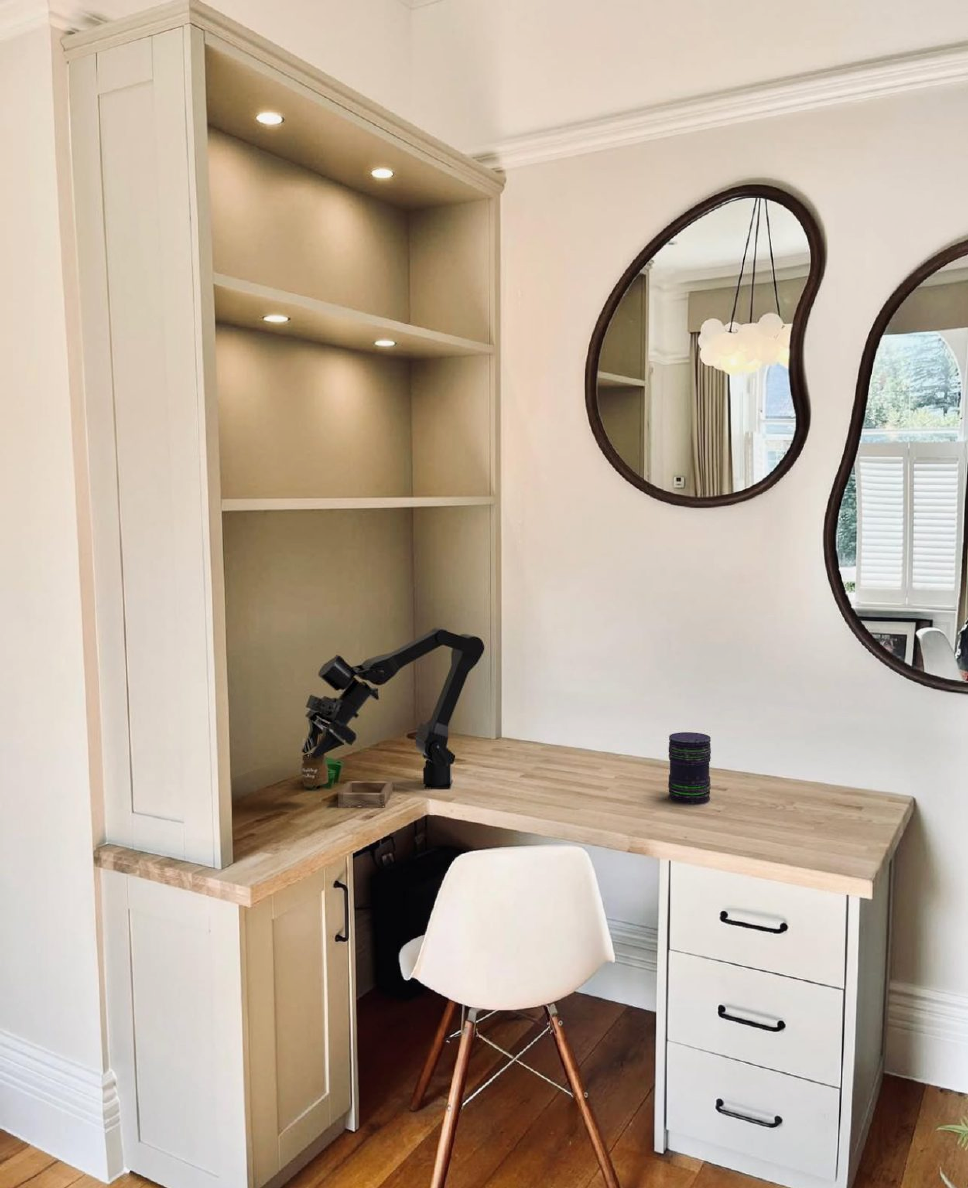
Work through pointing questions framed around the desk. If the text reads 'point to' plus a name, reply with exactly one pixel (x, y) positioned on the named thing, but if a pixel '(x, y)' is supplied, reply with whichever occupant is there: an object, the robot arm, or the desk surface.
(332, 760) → the clamp
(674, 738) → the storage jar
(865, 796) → the desk surface
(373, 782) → the socket block
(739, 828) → the desk surface
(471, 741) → the desk surface
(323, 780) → the utensil holder
